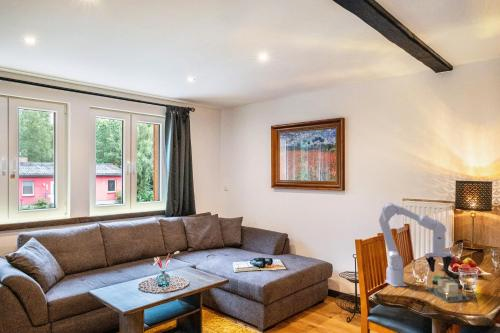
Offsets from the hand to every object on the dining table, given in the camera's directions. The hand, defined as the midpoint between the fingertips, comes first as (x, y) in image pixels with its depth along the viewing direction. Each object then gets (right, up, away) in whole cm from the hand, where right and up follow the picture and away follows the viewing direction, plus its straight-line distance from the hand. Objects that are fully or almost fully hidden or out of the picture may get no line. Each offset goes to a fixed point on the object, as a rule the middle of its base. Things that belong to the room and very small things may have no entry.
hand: (439, 271), depth 179 cm
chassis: (-1, -9, -9) cm, 13 cm away
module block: (-1, -8, -9) cm, 13 cm away
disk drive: (+9, -10, +7) cm, 16 cm away
